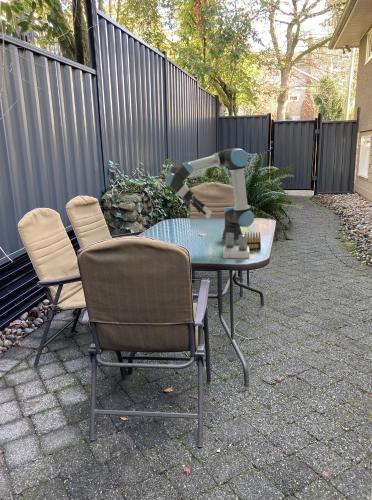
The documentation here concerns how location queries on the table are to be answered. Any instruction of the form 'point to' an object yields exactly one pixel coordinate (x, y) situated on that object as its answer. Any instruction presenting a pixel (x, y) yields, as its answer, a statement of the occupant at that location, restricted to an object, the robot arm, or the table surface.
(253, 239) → the ammunition clip
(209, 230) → the table surface
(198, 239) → the table surface
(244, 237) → the cylinder
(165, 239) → the table surface
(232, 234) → the ball
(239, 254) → the scale
